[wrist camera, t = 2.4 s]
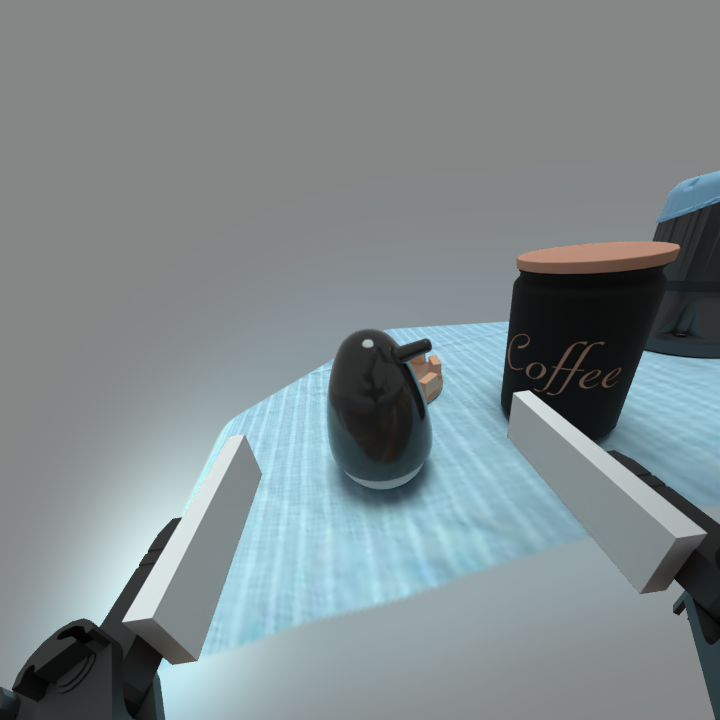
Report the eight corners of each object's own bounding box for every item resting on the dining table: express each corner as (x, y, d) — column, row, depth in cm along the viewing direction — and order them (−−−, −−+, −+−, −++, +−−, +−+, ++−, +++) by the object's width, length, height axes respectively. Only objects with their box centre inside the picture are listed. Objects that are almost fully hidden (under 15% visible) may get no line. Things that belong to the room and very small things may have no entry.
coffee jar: (482, 416, 32) (494, 263, 24) (523, 381, 37) (543, 246, 29) (594, 466, 23) (667, 260, 16) (625, 412, 29) (692, 237, 21)
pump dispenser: (429, 522, 21) (421, 361, 15) (321, 495, 25) (276, 357, 18) (439, 436, 30) (437, 309, 23) (356, 425, 33) (334, 313, 27)
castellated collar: (429, 356, 48) (429, 339, 47) (456, 407, 34) (457, 386, 32) (346, 366, 49) (343, 351, 48) (337, 420, 35) (333, 400, 34)
